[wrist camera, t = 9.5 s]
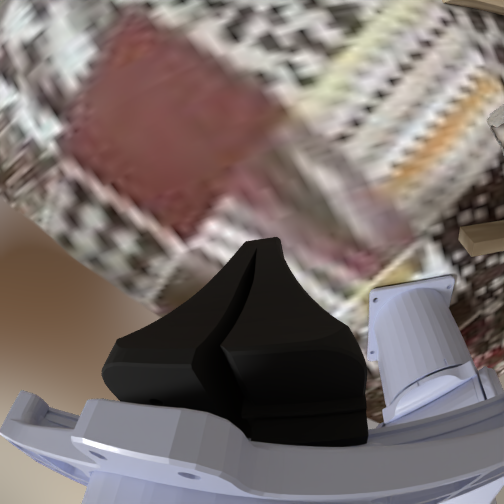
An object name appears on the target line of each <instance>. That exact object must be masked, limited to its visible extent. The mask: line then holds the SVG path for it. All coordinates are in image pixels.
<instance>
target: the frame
mask: <svg viewBox="0 0 504 504" xmlns="http://www.w3.org/2000/svg"><path fill="white" fill-rule="evenodd" d="M442 1H443V3H447V4H454V5H460V6H465V7H470V8H475V9H480V10H484V11H488V12H492V13H496V14H500V15H504V0H442ZM458 240H459V241H460V243H461V244H462V245H463V246H464V248H465V249H466V250H467V252H468V253H469V254H470V255H471V257H474V256H479V255H484V254H489V253H494V252H499V251H504V220H502V221H495V222H488V223H482V224H475V225H469V226H462V227H460V230H459V238H458Z"/></svg>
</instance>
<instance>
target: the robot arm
mask: <svg viewBox="0 0 504 504" xmlns="http://www.w3.org/2000/svg"><path fill="white" fill-rule="evenodd" d="M454 283H455V279H454V277H453V276H452V275H449V276H444V277H439V278H433V279H428V280H422V281H417V282H411V283H405V284H400V285H394V286H387V287H381V288H375V289H373V290H371V291H370V294H369V330H368V350H367V359H368V361H376V360H377V361H378V366H379V371H380V376H381V381H382V386H383V392H384V397H385V403H386V406H387V407H386V408H384V409H383V410H382V411H383V418H384V422H382V423H380V424H379V425H378V426H377V427H376V429H370V430H368V425H367V416H366V408H367V407H366V397H365V390H366V381H367V366H366V362H365V359H364V356H363V353H362V351H361V349H360V346H359V344H358V343H357V341H356V339H355V337H354V335H353V334H352V332H351V330H350V328H349V327H348V326H347V325H345V324H344V323H342V322H340V321H339V320H337V319H336V318H334V317H333V316H332V315H330V314H329V313H328V312H327V311H325V310H324V309H323V308H322V307H321V306H320V305H319V304H318V303H316V302H315V301H314V300H313V299H312V298H311V297H310V296H309V295H308V293H307V292H306V291H305V290H304V289H303V288H302V286H301V285H300V284H299V282H298V281H297V280H296V278H295V277H294V275H293V274H292V272H291V270H290V269H289V267H288V265H287V263H286V261H285V259H284V255H283V250H282V245H281V240H280V239H279V238H278V237H273V238H266V239H259V240H252V241H246V242H245V243H244V244H243V245H242V246H241V247H240V248H239V250H238V251H237V252H236V253H235V254H234V256H233V257H232V258H231V259H230V260H229V261H228V262H227V264H226V265H225V266H224V267H223V268H222V269H221V270H220V271H219V272H218V273H217V274H216V275H215V276H214V277H213V278H212V279H211V280H210V281H209V282H208V283H207V284H206V285H205V286H204V287H203V288H202V289H201V290H200V291H199V292H197V293H196V294H195V295H194V296H192V297H191V298H190V299H189V300H187V301H186V302H185V303H183V304H182V305H180V306H179V307H177V308H176V309H175V310H173V311H172V312H170V313H169V314H167V315H165V316H164V317H162V318H160V319H159V320H157V321H155V322H153V323H151V324H150V325H148V326H146V327H144V328H142V329H140V330H138V331H135V332H133V333H131V334H129V335H127V336H124V337H122V338H119V339H117V341H116V343H115V345H114V347H113V348H112V350H111V352H110V354H109V356H108V358H107V360H106V362H105V364H104V366H103V368H102V377H103V380H104V382H105V384H106V385H107V387H108V388H109V389H110V391H111V392H112V393H113V394H114V395H115V396H116V397H117V398H118V399H119V400H120V401H115V400H108V399H89V400H87V402H86V404H85V406H84V408H83V411H82V413H81V415H80V416H79V415H75V414H71V413H68V412H64V411H61V410H57V409H54V408H51V407H49V406H48V404H47V403H46V402H45V401H44V400H43V399H41V398H40V397H39V396H37V395H36V394H33V393H30V392H27V391H24V390H21V391H20V393H19V394H18V397H17V398H16V400H15V402H14V404H13V405H12V407H11V409H10V411H9V413H8V415H7V417H6V419H5V421H4V423H3V425H2V426H1V429H0V435H1V436H3V437H4V438H5V439H6V440H8V441H9V442H10V443H12V444H13V445H14V446H16V447H17V448H18V449H19V450H21V451H22V452H24V453H25V454H26V455H28V456H29V457H31V458H32V459H34V460H35V461H36V462H38V463H40V464H42V465H44V466H46V467H48V468H50V469H51V470H53V471H56V472H57V473H60V474H61V475H63V476H65V477H68V478H70V479H72V480H74V481H76V482H78V483H80V484H83V485H85V486H87V489H86V492H85V495H84V498H83V501H82V504H497V503H496V498H495V497H496V495H497V494H498V493H499V491H500V490H501V489H502V487H503V486H504V390H503V388H502V385H501V383H500V381H499V378H498V376H497V374H496V372H495V370H494V369H491V368H487V367H486V366H484V367H483V368H482V369H480V370H479V371H478V370H477V368H476V367H475V365H474V362H473V360H472V357H471V355H470V353H469V350H468V348H467V346H466V343H465V341H464V339H463V337H462V335H461V332H460V330H459V328H458V326H457V324H456V322H455V320H454V318H453V316H452V314H451V312H450V310H449V306H450V301H451V297H452V292H453V288H454ZM448 285H449V286H448ZM374 298H377V299H375V300H373V299H374Z"/></svg>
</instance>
